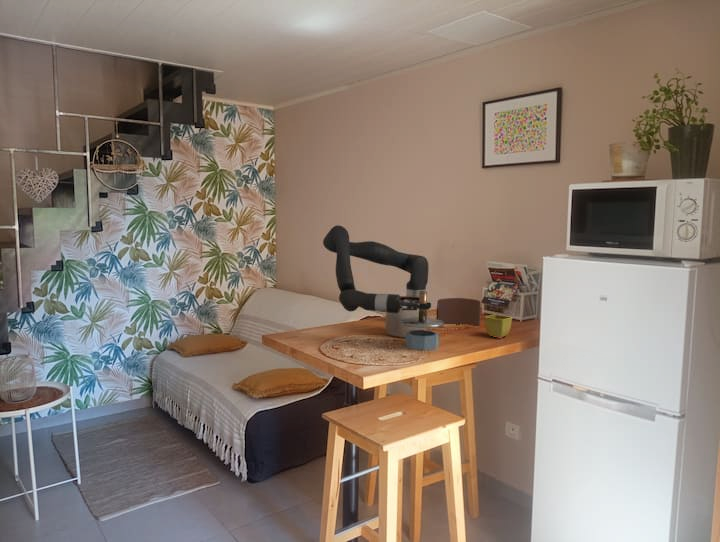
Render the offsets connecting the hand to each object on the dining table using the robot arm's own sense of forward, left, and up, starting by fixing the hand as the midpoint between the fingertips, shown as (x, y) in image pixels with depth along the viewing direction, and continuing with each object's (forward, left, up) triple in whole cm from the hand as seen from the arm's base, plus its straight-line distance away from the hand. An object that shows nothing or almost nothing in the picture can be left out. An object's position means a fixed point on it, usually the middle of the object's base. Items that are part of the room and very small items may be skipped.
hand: (429, 306), depth 216 cm
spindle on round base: (+2, -2, -7) cm, 8 cm away
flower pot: (-37, -5, -17) cm, 41 cm away
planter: (-2, -24, -17) cm, 29 cm away
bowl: (+2, -2, -17) cm, 17 cm away
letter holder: (-34, -32, -17) cm, 49 cm away
